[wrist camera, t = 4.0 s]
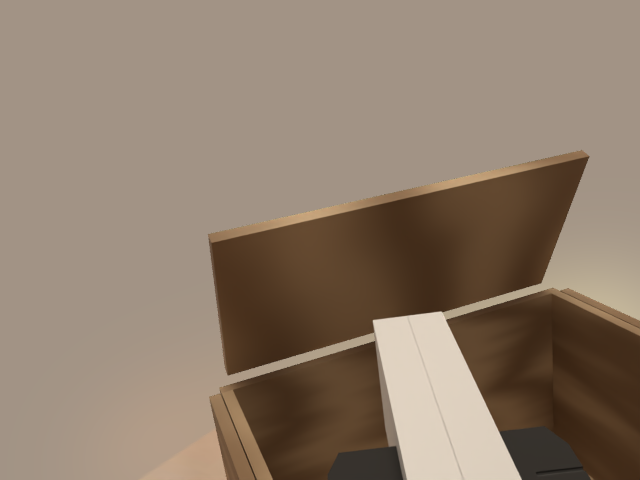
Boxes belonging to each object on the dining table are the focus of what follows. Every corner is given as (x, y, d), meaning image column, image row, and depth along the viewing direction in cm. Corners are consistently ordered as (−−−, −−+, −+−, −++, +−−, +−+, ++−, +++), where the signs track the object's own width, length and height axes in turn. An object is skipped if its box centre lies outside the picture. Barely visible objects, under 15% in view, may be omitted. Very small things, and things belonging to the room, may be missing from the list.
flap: (541, 282, 32) (535, 276, 33) (589, 156, 27) (581, 150, 27) (227, 375, 28) (224, 367, 28) (211, 242, 22) (207, 234, 23)
